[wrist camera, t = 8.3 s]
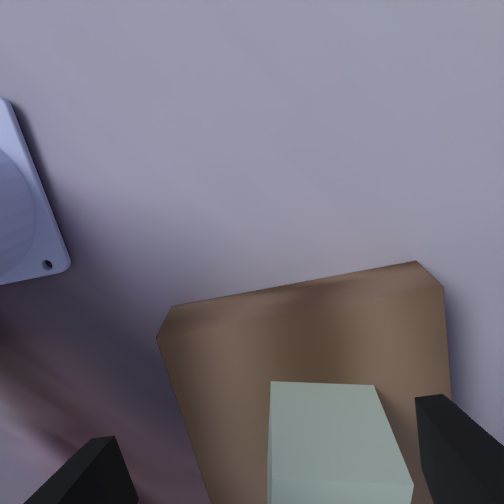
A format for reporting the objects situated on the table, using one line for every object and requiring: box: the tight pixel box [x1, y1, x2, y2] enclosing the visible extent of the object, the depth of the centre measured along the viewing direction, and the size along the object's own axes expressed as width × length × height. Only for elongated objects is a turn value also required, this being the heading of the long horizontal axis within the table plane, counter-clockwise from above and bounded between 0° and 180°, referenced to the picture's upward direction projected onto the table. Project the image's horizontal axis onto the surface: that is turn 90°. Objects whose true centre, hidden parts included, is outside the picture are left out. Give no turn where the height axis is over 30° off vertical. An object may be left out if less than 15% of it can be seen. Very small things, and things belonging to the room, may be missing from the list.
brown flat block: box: [156, 261, 452, 504], centre depth 20 cm, size 12×12×3 cm
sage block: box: [267, 381, 414, 504], centre depth 16 cm, size 4×4×5 cm
